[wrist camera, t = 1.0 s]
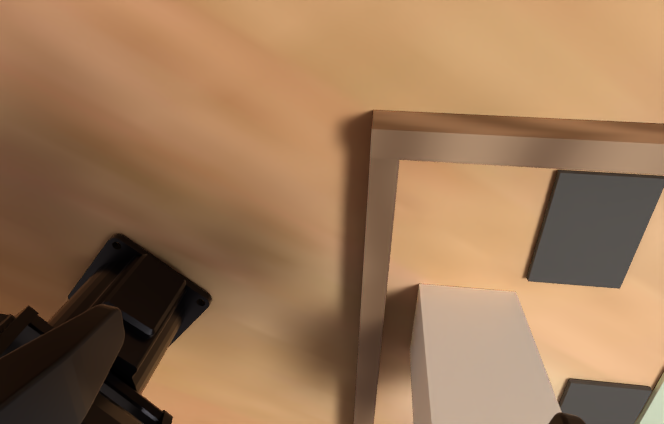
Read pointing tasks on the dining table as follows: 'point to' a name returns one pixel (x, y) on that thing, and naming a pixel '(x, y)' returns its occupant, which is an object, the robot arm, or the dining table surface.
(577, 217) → the brown flat frame
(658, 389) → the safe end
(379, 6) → the dining table surface
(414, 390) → the pale cream block
